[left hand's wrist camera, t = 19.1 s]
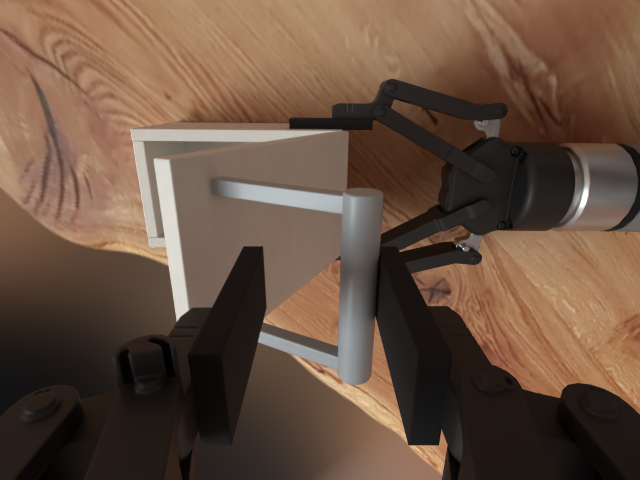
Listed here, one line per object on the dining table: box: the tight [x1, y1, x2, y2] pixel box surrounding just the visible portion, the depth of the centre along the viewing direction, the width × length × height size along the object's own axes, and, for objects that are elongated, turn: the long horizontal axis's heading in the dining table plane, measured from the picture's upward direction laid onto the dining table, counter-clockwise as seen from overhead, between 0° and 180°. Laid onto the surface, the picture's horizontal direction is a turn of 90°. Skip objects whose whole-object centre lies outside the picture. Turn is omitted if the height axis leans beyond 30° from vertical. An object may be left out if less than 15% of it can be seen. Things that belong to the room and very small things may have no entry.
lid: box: [154, 131, 384, 385], centre depth 21 cm, size 16×10×8 cm
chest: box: [131, 122, 343, 247], centre depth 34 cm, size 16×10×9 cm, turn 89°
